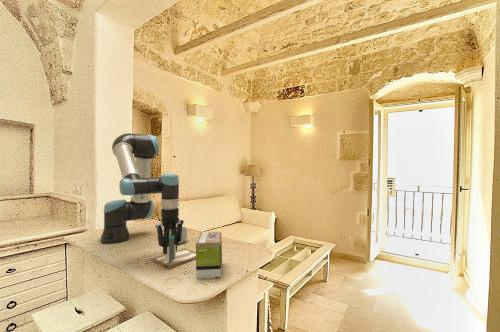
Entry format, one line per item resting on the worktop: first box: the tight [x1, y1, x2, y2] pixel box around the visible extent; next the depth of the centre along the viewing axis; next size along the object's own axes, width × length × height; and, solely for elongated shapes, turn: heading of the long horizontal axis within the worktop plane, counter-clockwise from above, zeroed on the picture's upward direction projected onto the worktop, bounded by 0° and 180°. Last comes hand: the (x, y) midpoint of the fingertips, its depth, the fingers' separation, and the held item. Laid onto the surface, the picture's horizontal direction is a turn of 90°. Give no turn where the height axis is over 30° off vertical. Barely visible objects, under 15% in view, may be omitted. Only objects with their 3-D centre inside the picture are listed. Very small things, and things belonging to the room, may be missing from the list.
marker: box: [168, 234, 175, 262], centre depth 108 cm, size 3×3×12 cm
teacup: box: [169, 226, 188, 245], centre depth 140 cm, size 14×11×8 cm
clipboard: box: [150, 247, 196, 270], centre depth 115 cm, size 16×19×1 cm
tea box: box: [195, 231, 223, 280], centre depth 102 cm, size 15×10×15 cm
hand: (170, 259), depth 108 cm, fingers closed on marker, 3 cm apart
